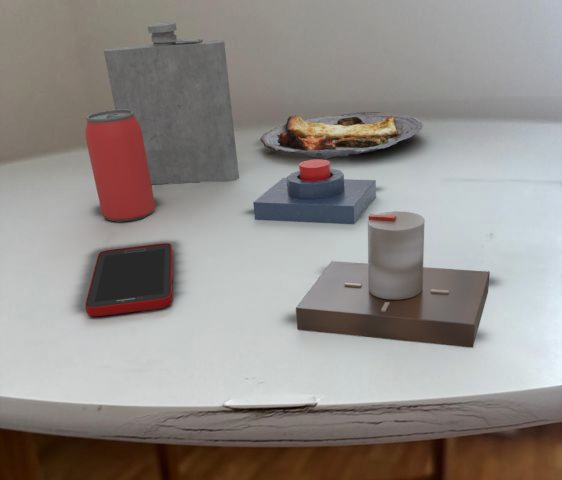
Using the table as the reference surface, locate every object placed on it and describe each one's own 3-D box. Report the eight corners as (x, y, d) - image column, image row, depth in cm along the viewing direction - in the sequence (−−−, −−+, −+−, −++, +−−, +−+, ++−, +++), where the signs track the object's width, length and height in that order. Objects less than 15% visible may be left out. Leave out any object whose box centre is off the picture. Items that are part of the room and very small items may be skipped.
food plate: (242, 164, 104) (239, 140, 102) (286, 129, 122) (285, 108, 120) (410, 164, 96) (411, 138, 95) (430, 126, 115) (431, 104, 113)
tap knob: (428, 280, 58) (430, 209, 55) (414, 302, 55) (416, 228, 51) (377, 275, 60) (377, 206, 56) (361, 296, 56) (360, 224, 53)
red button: (334, 174, 82) (333, 159, 81) (325, 183, 79) (324, 167, 78) (305, 173, 83) (304, 159, 82) (295, 182, 80) (294, 167, 79)
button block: (376, 197, 85) (375, 164, 83) (354, 225, 77) (353, 189, 75) (284, 194, 89) (281, 163, 87) (254, 220, 81) (251, 186, 79)
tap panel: (488, 292, 60) (490, 269, 59) (473, 348, 52) (475, 322, 51) (332, 280, 64) (331, 259, 63) (296, 330, 57) (295, 306, 55)
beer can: (138, 224, 83) (118, 120, 77) (92, 222, 85) (69, 120, 79) (165, 207, 88) (148, 108, 82) (121, 205, 90) (102, 108, 84)
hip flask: (126, 186, 98) (95, 29, 88) (135, 178, 101) (106, 26, 91) (236, 182, 96) (219, 20, 85) (241, 173, 99) (225, 17, 89)
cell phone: (173, 250, 74) (171, 241, 74) (173, 308, 62) (171, 298, 61) (100, 259, 74) (98, 250, 73) (85, 319, 61) (83, 309, 61)
